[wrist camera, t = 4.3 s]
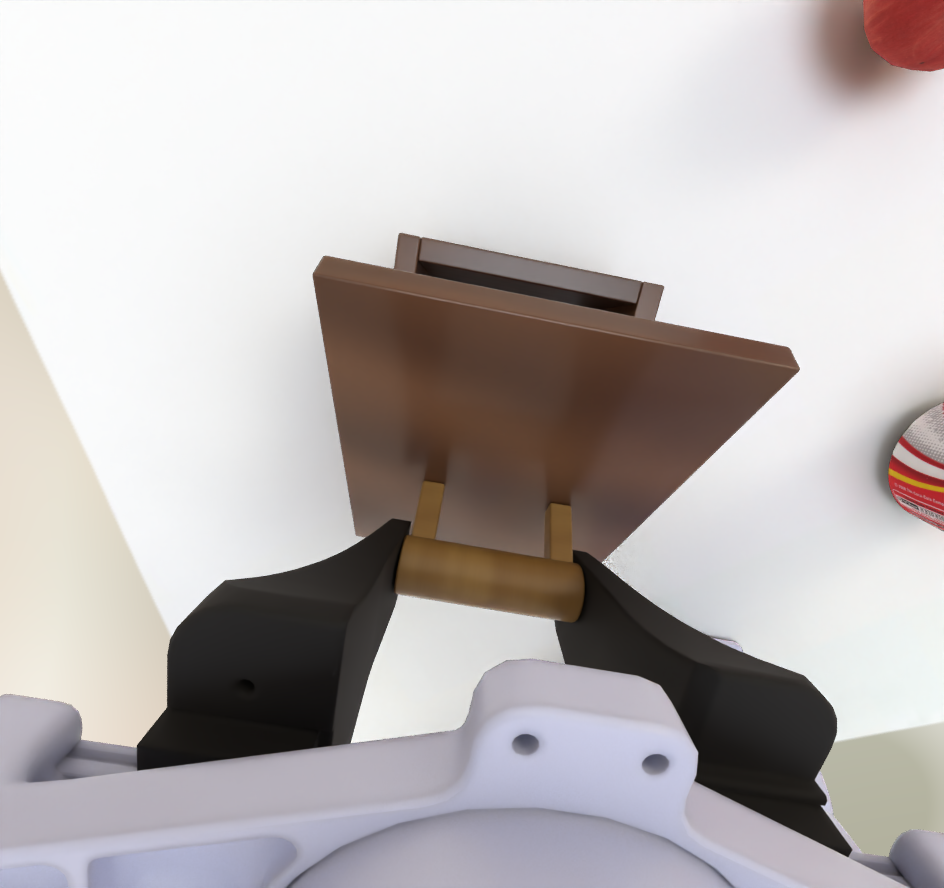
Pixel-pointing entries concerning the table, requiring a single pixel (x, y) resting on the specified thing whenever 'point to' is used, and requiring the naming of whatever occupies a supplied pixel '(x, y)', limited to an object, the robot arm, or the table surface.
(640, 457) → the bin lid
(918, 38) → the onion
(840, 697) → the table surface
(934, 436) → the soda can
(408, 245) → the bin
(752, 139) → the table surface
